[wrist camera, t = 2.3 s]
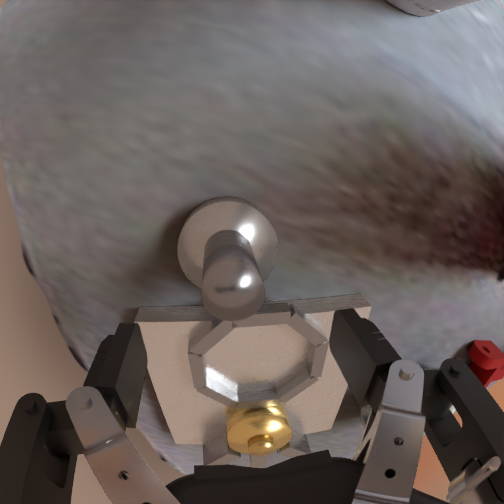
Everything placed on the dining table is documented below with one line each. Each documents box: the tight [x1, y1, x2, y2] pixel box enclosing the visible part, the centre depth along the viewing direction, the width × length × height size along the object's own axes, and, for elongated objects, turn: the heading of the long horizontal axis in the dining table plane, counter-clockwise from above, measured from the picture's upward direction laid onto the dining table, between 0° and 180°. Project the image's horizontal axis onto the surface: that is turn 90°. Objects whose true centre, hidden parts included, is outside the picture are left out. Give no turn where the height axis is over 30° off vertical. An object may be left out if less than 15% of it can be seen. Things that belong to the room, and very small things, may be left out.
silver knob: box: [177, 196, 278, 321], centre depth 16 cm, size 6×6×7 cm
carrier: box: [134, 294, 371, 468], centre depth 22 cm, size 21×18×6 cm
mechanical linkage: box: [468, 340, 504, 388], centre depth 30 cm, size 16×7×5 cm, turn 73°
